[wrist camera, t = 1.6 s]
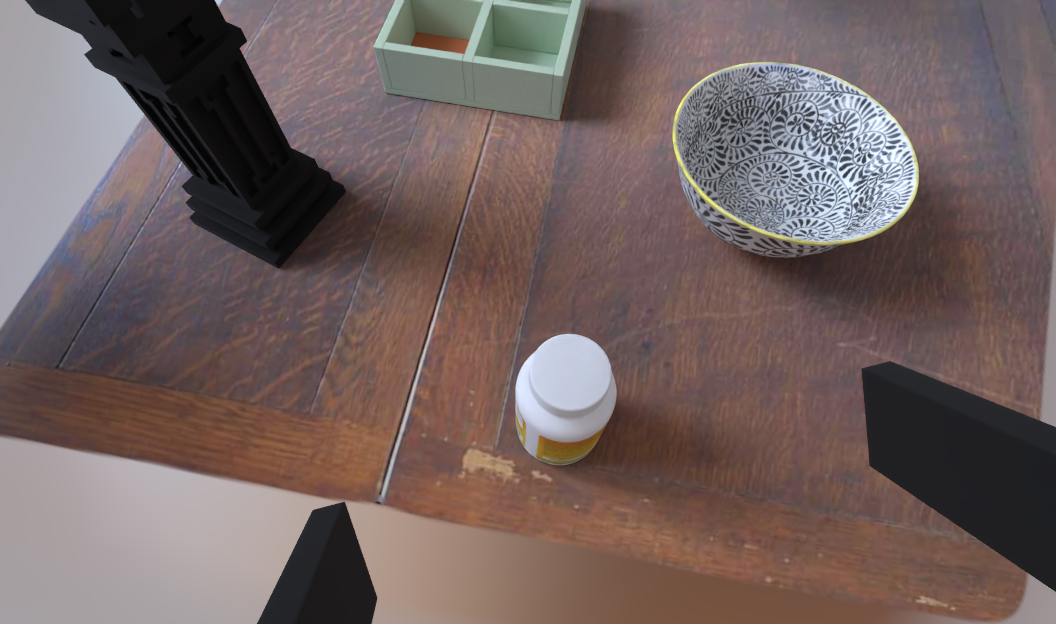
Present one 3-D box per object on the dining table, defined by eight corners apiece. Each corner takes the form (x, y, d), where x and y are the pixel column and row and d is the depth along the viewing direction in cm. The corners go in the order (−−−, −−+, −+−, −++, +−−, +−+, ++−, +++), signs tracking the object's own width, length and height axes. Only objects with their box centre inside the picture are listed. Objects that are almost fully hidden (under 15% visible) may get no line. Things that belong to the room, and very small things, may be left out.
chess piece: (278, 268, 40) (83, 9, 22) (195, 223, 41) (-51, -52, 23) (345, 191, 43) (224, -90, 25) (265, 153, 44) (96, -138, 27)
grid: (385, 93, 48) (372, 46, 44) (432, -16, 55) (425, -65, 50) (559, 120, 47) (563, 76, 43) (585, 6, 53) (591, -42, 49)
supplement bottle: (617, 421, 35) (650, 368, 26) (562, 485, 33) (577, 450, 25) (554, 367, 37) (565, 300, 28) (498, 425, 35) (491, 372, 26)
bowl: (712, 107, 48) (744, 28, 41) (888, 199, 44) (955, 128, 37) (609, 225, 42) (627, 156, 35) (800, 344, 38) (861, 292, 31)
